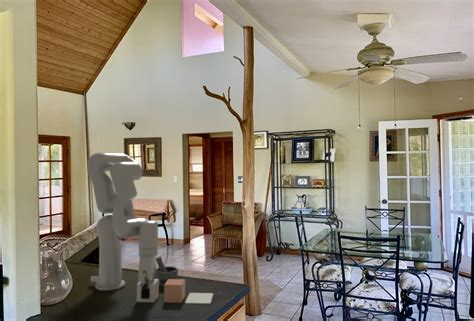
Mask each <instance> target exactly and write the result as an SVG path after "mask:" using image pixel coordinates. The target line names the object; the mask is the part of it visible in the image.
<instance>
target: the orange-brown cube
mask: <svg viewBox="0 0 474 321" xmlns="http://www.w3.org/2000/svg"><path fill="white" fill-rule="evenodd" d="M163 289H164V290H163V291H164V292H163V301H164V303H173V304H174V303H179V304H181V303H183V301H184V300H185V297H186V279H184V278H183V279H180V278H179V279H177V278H176V279H168V280H167V282H166V283H165V284H164V287H163Z"/></svg>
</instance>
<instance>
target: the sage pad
mask: <svg viewBox="0 0 474 321" xmlns="http://www.w3.org/2000/svg"><path fill="white" fill-rule="evenodd" d="M213 297H214V293H212V292H189V294H188V296H187V298H186V300H185V303H184V304H185V305H187V304H189V305H211V303H212V300H213Z"/></svg>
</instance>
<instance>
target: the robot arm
mask: <svg viewBox="0 0 474 321" xmlns="http://www.w3.org/2000/svg"><path fill="white" fill-rule="evenodd" d="M86 167H87V174H88V176H89V178H90V181H91V183H92V187H93V193H94V198H95V204H96V208H97V210H98V212H99V213H101V214H102V213H103V214H109V213H111V214H109V215H105V216H103V217H101V218H100V219H99V220H98V222H97V224H96V228H97V234H98V241H99V242H98V244H99V248H98V250H99V258H98V260H99V261H98V262H99V264H98V265H99V266H98V268H99V269H98V271H99V272H98V274H99V275H98V276H90V282H91V283H95V289H96V290H97V291H105V292H107V291H115V290H119V289H122V288H124V287H125V286H126V281H125V280H123V279H122V275H123V274H122V271H123V268H122V266H123V264H122V263H123V261H122V260H123V258H122V257H123V250H122V249H123V246H122V243H121V241H120V239H123V240H126V239H132V238H137V237H138V256H139V261H138V274H137V275H138V277H137V279H138V280H137V281H138V283H139V282H140V281H141V299H149V297H150V288H149V282H150V281H151V280H152V279H156V278H155V277H156V270H157V261H156V258H157V256H158V255H159V254H158V253H159V249H158V248H159V223H158V222H157V221H156V220H153V219H151V220H149V219H147V218H145V217H139V218H136V215H135V208H134V205H133V199H135V198H136V197H137V195H138V191H137V188H136V185H135V182H134V181H139V180H140V179H141V178H142V176H143V169H142V166H141V164H139V162H137V161H136V160H135V159H134V158H131V157H130V156H129V155H127V154H125V153H121V152H120V153H119V152H96V153H93V154H91V156H90V157H89V158H88V161H87V166H86ZM106 172H109V175H108V174H107V173H106ZM119 238H120V239H119ZM145 279H148V281H147V280H145ZM145 282H147V284H146V283H145Z"/></svg>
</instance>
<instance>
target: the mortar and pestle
mask: <svg viewBox="0 0 474 321" xmlns="http://www.w3.org/2000/svg"><path fill="white" fill-rule="evenodd" d="M156 265H157V266H158V268H156V275H155V277H156V279H159V285H160V286H159V287H163V288H164V284H165V283H166V282H167V280H168V279H177V277H178V274H179V269H178V267H175V266H165V263H164V261H163V260H162V257H161V256H158V257H156Z"/></svg>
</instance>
